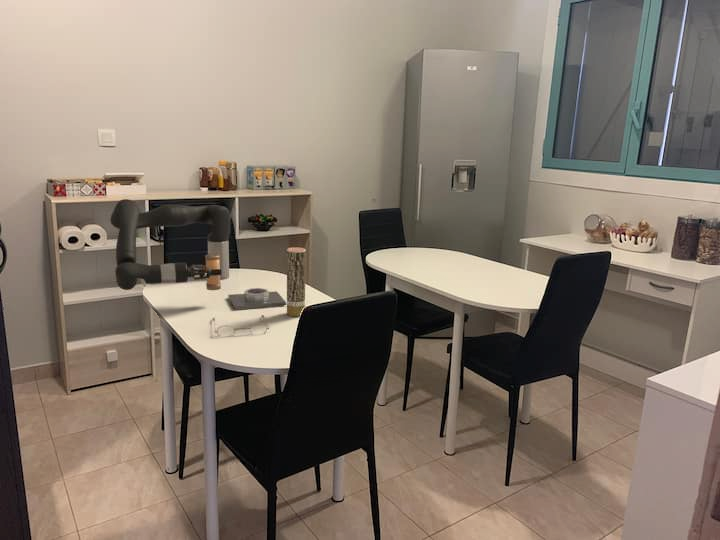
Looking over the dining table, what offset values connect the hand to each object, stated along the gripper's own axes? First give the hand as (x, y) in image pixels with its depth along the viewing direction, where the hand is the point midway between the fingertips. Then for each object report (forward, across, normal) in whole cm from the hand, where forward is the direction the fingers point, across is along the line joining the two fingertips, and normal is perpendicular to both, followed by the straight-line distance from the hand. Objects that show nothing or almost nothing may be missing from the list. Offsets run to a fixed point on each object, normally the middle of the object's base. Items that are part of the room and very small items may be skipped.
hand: (219, 270), depth 217 cm
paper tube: (+25, -19, +14) cm, 35 cm away
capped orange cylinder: (-3, 0, +7) cm, 7 cm away
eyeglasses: (+3, -26, +14) cm, 30 cm away
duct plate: (+14, 0, +14) cm, 20 cm away
